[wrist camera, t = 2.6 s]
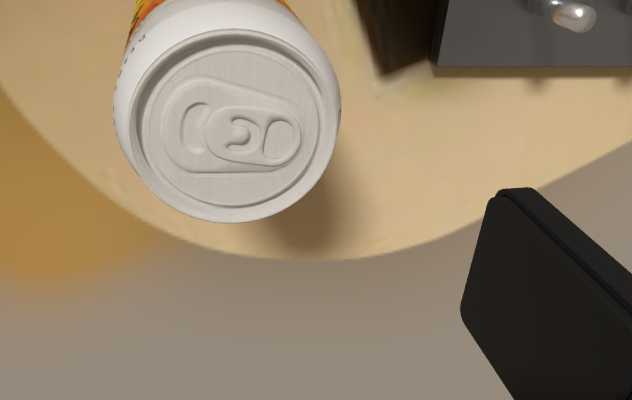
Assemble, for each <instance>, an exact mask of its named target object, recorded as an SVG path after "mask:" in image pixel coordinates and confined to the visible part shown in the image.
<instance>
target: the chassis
mask: <svg viewBox="0 0 632 400" xmlns="http://www.w3.org/2000/svg"><path fill="white" fill-rule="evenodd" d="M428 60H429V61H430V62H432V63H433V64H434V65H436V66H437V67H548V66H632V0H439V2H438V8H437V14H436V19H435V25H434V31H433V36H432V42H431V47H430V53H429V59H428Z"/></svg>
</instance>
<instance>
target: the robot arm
mask: <svg viewBox="0 0 632 400" xmlns="http://www.w3.org/2000/svg"><path fill="white" fill-rule="evenodd" d="M460 312H461V317H462V320H463V322H464V324H465V326H466V327H467V329H468V330H469V332H470V333H471V335H472V336H473V338H474V339H475V341H476V342H477V344H478V345H479V347H480V348H481V350H482V352H483V353H484V355H485V356H486V358H487V359H488V360H489V362H490V364H491V365H492V367H493V368H494V370H495V371H496V373H497V374H498V376H499V377H500V379H501V380H502V382H503V383H504V385H505V386H506V388H507V389H508V391H509V393H510V394H511V396H512V397H513V399H514V400H632V274H631V273H630V272H629V271H628V270H627V269H626V268H624V267H623V266H622V265H621V264H620V263H619V262H617V261H616V260H615V259H614V258H613V257H612V256H610V255H609V254H608V253H607V252H606V251H605V250H603V248H601V247H600V246H599V245H598V244H597V243H595V242H594V241H593V240H592V239H591V238H590V237H589V236H588V235H586V234H585V233H584V232H583V231H581V229H580V228H578V227H577V226H576V225H575V224H574V223H573V222H571V221H570V220H569V219H568V218H567V217H566V216H565V215H563V214H562V213H561V212H560V211H559V210H558V209H556V208H555V207H554V206H553V205H552V204H551V203H550V202H548V201H547V200H546V199H545V198H544V197H543V196H542V195H540V194H539V193H538V192H537V191H536V190H534V189H533V188H528V187H525V188H510V189H502V190H500V191H498V192H497V194H496V195H495V197H493V198H491V199H490V200H489V201H488V204H487V207H486V211H485V215H484V219H483V222H482V226H481V230H480V233H479V237H478V241H477V245H476V249H475V252H474V256H473V260H472V263H471V267H470V271H469V275H468V278H467V282H466V286H465V290H464V294H463V297H462V301H461V306H460Z"/></svg>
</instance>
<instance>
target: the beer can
mask: <svg viewBox="0 0 632 400" xmlns="http://www.w3.org/2000/svg"><path fill="white" fill-rule="evenodd" d="M113 118H114V126H115V131H116V135H117V138H118V142H119V144H120V146H121V149H122V151H123V153H124V155H125V157H126V159H127V160H128V162H129V164H130V165H131V167H132V168H133V169H134V171H135V172H136V173H137V174H138V175H139V177H140V178H141V179H142V180H143V181H144V182H145V184H146V185H147V186H148V188H149V189H150V190H151V191H152V192H153V193H154V194H155V195H156V196H157V197H158V198H160V199H161V200H162V201H163V202H165V203H166V204H167V205H169V206H170V207H172V208H174V209H175V210H177V211H179V212H181V213H183V214H186V215H188V216H191V217H193V218H196V219H200V220H203V221H209V222H214V223H226V224H227V223H245V222H251V221H256V220H260V219H263V218H266V217H270V216H272V215H274V214H277V213H279V212H281V211H283V210H285V209H286V208H288V207H290V206H291V205H293V204H294V203H296V202H297V201H299V200H300V199H301V198H302V197H303V196H305V195H306V194H307V193H308V192H309V191H310V190H311V189H312V188H313V187H314V185H315V184H316V183H317V182H318V180H319V179H320V178H321V176H322V175H323V173H324V171H325V170H326V168H327V166H328V164H329V162H330V159H331V157H332V154H333V151H334V147H335V142H336V137H337V134H338V130H339V125H340V118H341V96H340V89H339V84H338V81H337V77H336V74H335V72H334V69H333V67H332V64H331V62H330V61H329V59H328V57H327V55H326V54H325V52H324V51H323V49H322V48H321V47H320V45H319V44H318V43H317V41H316V40H315V39H314V38H313V36H312V35H311V34H310V33H309V31H308V30H307V29H306V28H305V26H304V25H303V24H302V22H301V21H300V20H299V19H298V17H297V16H296V15H295V14H294V12H293V11H292V10H291V9H290V7H289V6H288V5H287V4H286V2H285V1H284V0H137V4H136V8H135V12H134V16H133V20H132V24H131V28H130V31H129V35H128V39H127V43H126V47H125V51H124V55H123V59H122V63H121V67H120V71H119V75H118V79H117V83H116V87H115V92H114V100H113Z"/></svg>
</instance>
